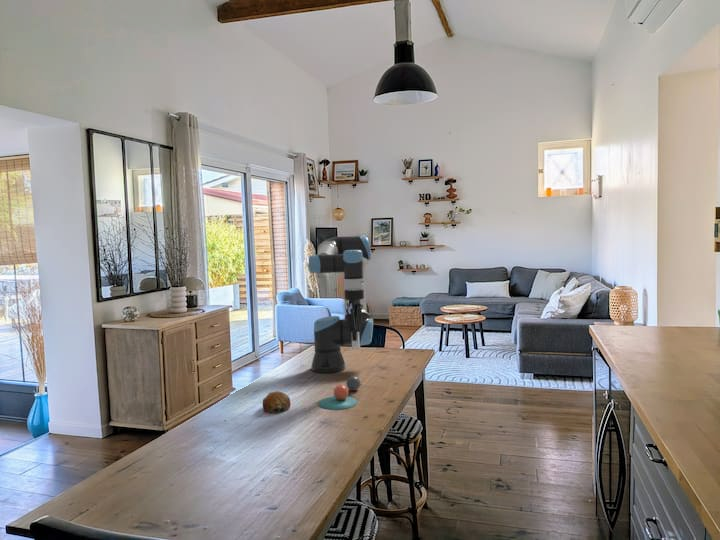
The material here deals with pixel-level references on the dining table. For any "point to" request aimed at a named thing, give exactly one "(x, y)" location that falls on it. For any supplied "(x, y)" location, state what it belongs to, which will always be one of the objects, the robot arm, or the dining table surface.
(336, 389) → the red ball
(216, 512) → the dining table surface
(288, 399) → the bread roll
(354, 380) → the gray ball
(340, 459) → the dining table surface
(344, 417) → the dining table surface
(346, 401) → the teal mark
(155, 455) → the dining table surface
